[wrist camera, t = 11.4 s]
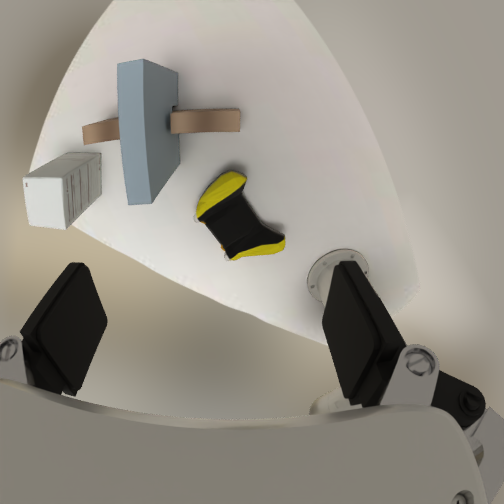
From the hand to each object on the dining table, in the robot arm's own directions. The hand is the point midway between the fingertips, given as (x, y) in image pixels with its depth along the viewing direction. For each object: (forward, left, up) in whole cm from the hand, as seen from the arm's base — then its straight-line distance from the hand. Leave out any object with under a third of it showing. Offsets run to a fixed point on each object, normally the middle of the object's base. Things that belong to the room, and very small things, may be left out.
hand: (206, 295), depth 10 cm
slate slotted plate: (+9, +3, -33) cm, 34 cm away
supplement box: (+15, +19, -33) cm, 41 cm away
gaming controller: (-10, +7, -33) cm, 35 cm away
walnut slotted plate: (+9, +3, -33) cm, 34 cm away
